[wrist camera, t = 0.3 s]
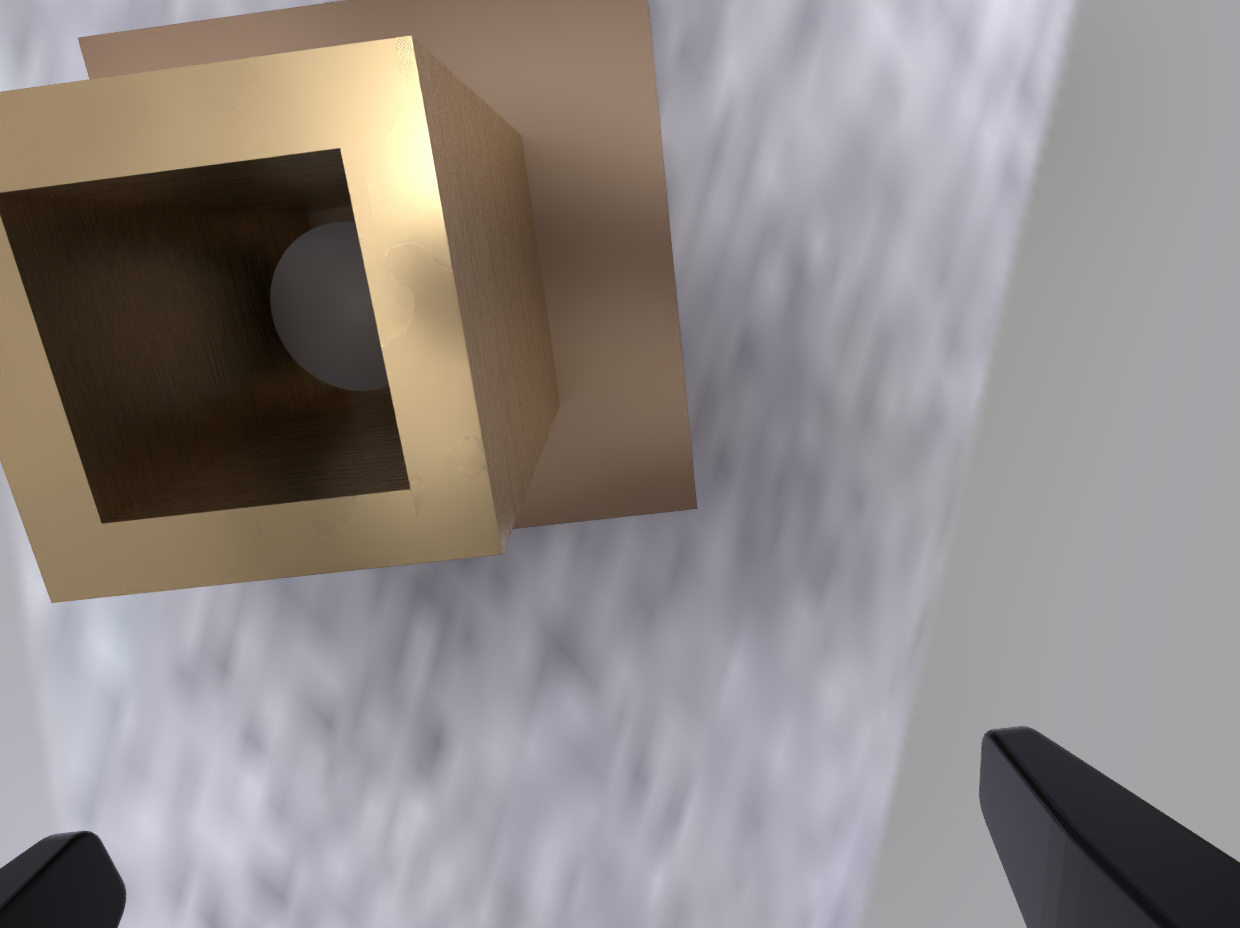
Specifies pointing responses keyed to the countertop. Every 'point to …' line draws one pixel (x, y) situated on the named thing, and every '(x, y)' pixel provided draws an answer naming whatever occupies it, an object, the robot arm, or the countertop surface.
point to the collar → (263, 322)
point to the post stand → (562, 210)
